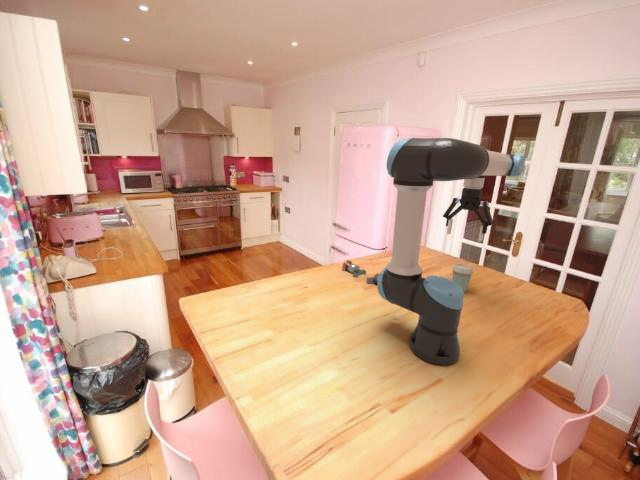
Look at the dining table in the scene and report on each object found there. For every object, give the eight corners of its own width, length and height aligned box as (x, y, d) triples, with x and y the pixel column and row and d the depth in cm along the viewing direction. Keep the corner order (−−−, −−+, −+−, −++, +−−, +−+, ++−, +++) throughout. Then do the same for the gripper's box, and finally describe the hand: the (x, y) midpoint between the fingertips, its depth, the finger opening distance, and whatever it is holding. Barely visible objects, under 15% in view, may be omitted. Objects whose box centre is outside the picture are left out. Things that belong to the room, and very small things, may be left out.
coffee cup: (465, 287, 140) (469, 263, 137) (472, 296, 132) (477, 270, 129) (446, 286, 141) (450, 262, 138) (452, 294, 133) (456, 269, 129)
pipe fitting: (382, 291, 132) (383, 278, 130) (340, 273, 150) (341, 261, 149) (393, 286, 138) (395, 274, 136) (351, 270, 156) (352, 258, 154)
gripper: (509, 191, 118) (498, 242, 123) (447, 184, 136) (440, 230, 141) (502, 191, 113) (491, 245, 119) (439, 185, 131) (432, 232, 136)
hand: (463, 237), depth 130 cm, fingers open, 13 cm apart
